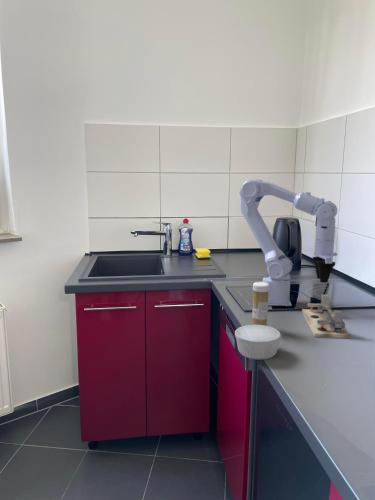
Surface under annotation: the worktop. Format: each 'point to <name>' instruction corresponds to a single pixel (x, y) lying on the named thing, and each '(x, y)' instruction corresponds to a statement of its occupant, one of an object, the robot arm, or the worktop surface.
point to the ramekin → (257, 341)
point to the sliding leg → (321, 304)
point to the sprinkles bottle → (260, 303)
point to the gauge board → (326, 331)
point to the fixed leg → (334, 321)
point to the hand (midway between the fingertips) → (322, 280)
